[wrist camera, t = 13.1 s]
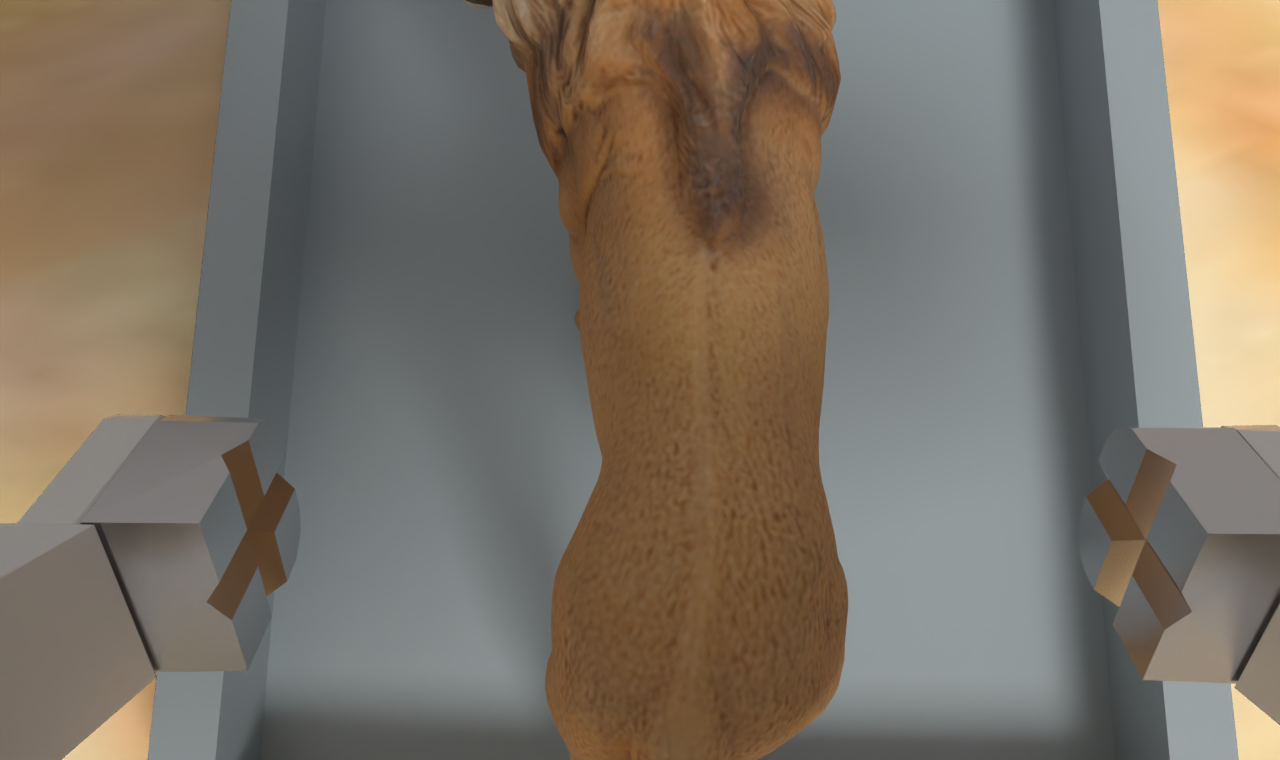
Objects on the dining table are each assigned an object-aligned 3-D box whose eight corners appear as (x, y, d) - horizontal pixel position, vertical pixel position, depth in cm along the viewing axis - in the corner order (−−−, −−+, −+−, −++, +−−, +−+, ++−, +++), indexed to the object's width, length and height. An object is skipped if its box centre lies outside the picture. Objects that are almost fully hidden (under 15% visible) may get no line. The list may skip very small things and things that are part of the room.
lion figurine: (483, 147, 19) (305, -361, 10) (750, 98, 19) (789, -448, 10) (605, 1029, 13) (428, 1486, 5) (990, 952, 13) (1506, 1265, 5)
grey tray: (210, 853, 16) (131, 903, 14) (300, -86, 20) (250, -179, 17) (1162, 869, 16) (1256, 922, 13) (1076, -82, 20) (1138, -175, 17)
